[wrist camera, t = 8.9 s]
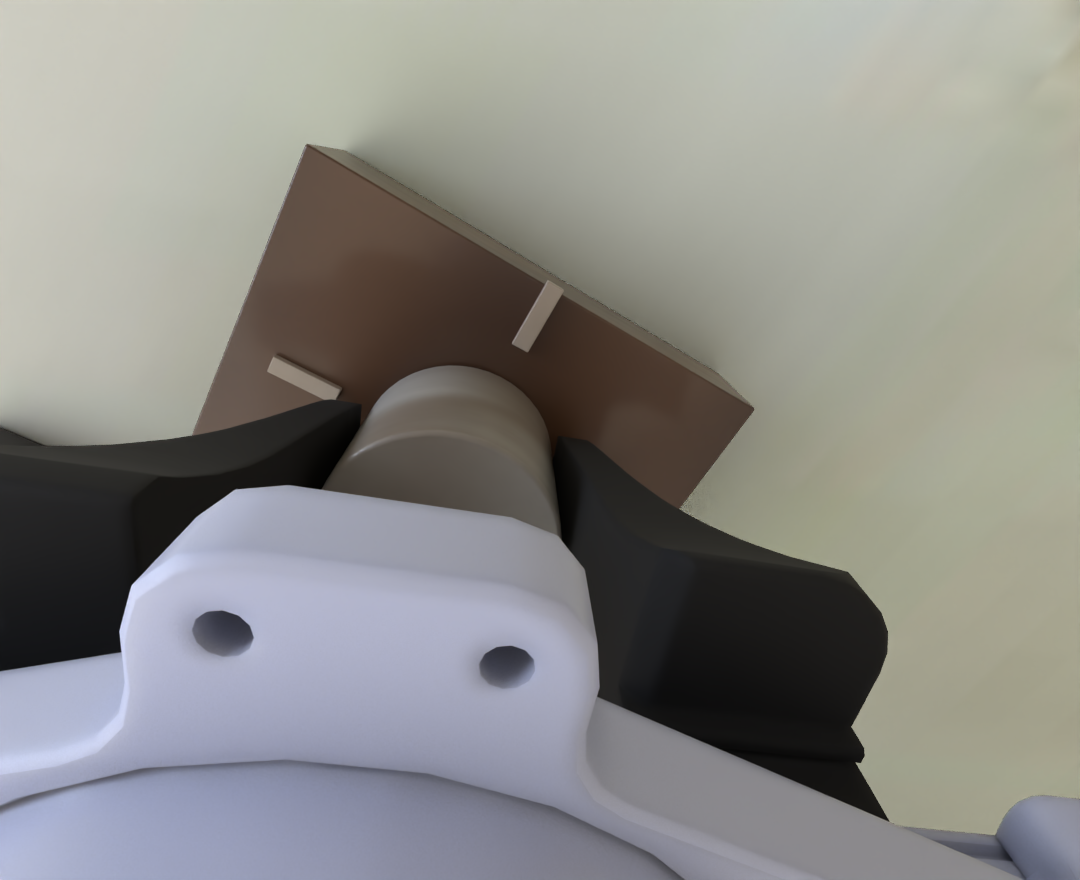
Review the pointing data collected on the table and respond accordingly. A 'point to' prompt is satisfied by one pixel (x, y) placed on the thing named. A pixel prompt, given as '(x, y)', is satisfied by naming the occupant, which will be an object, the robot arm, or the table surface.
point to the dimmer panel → (454, 329)
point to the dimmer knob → (454, 448)
